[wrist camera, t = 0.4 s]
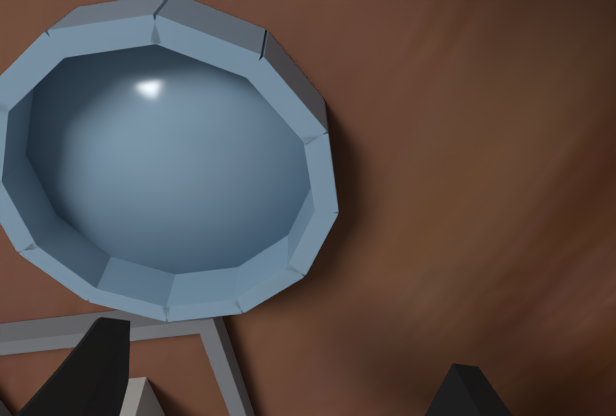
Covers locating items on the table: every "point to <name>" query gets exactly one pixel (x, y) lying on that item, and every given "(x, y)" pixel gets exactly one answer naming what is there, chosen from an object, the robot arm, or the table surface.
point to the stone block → (140, 399)
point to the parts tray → (76, 326)
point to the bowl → (164, 160)
